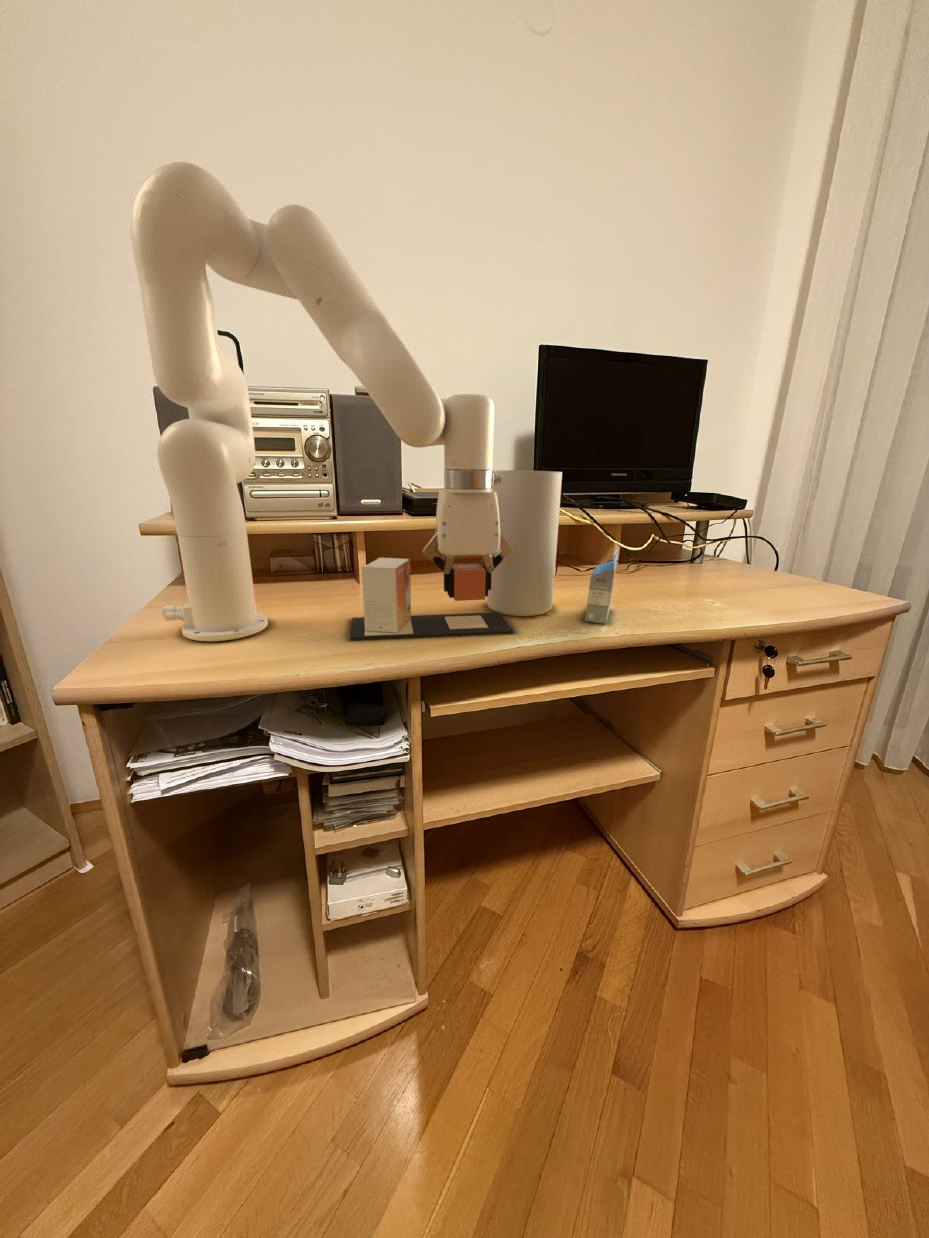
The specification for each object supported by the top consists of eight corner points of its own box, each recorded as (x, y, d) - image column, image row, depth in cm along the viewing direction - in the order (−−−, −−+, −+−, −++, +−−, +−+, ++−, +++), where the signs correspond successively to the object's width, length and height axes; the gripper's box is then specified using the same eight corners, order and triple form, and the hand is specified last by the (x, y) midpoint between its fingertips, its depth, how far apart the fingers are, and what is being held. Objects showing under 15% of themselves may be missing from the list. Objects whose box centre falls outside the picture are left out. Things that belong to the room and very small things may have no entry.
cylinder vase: (478, 613, 90) (482, 471, 82) (495, 596, 101) (500, 470, 93) (546, 620, 86) (556, 473, 78) (556, 602, 98) (566, 471, 90)
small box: (397, 634, 77) (395, 568, 73) (363, 631, 78) (360, 566, 74) (412, 618, 84) (411, 558, 81) (381, 616, 85) (378, 556, 82)
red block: (454, 601, 79) (454, 570, 77) (450, 593, 84) (450, 563, 82) (485, 599, 80) (485, 569, 78) (479, 592, 85) (479, 563, 83)
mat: (350, 640, 75) (349, 636, 75) (352, 620, 85) (352, 617, 85) (513, 633, 80) (513, 629, 80) (498, 614, 89) (498, 611, 89)
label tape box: (589, 608, 94) (595, 544, 90) (611, 610, 93) (618, 546, 89) (584, 621, 86) (591, 552, 82) (608, 624, 85) (616, 554, 81)
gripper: (515, 481, 81) (510, 587, 87) (411, 481, 78) (414, 591, 84) (528, 483, 74) (522, 599, 80) (415, 483, 71) (418, 603, 77)
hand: (467, 593), depth 82 cm, fingers closed on red block, 5 cm apart
